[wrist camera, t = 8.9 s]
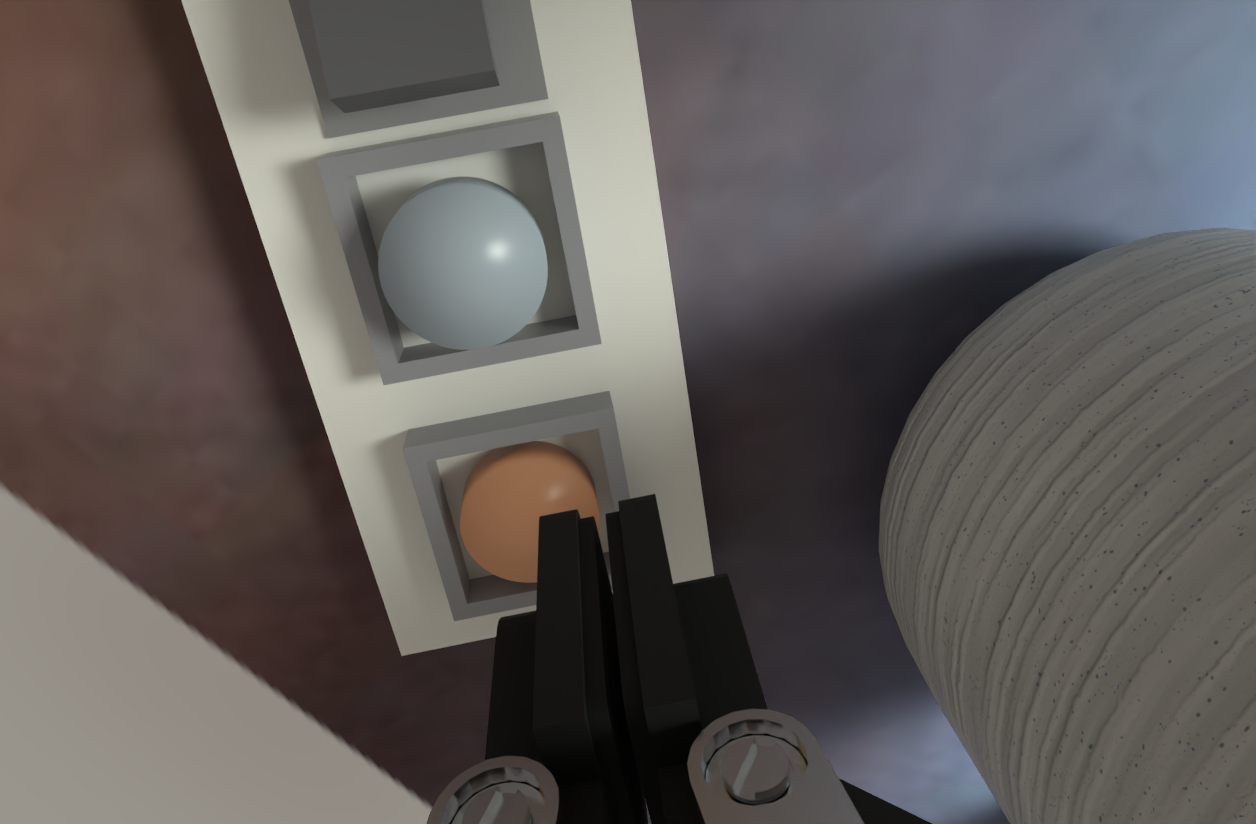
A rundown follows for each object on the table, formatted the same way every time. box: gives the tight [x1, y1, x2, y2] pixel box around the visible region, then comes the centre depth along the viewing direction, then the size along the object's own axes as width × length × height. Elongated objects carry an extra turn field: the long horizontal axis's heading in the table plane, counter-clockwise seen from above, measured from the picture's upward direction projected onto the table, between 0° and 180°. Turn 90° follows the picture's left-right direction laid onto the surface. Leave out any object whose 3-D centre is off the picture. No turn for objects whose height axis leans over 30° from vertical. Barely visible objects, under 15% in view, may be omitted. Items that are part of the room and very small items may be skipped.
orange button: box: [460, 441, 600, 583], centre depth 30 cm, size 5×5×2 cm
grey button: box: [378, 176, 548, 350], centre depth 25 cm, size 5×5×2 cm
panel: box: [181, 0, 714, 656], centre depth 27 cm, size 12×29×5 cm, turn 9°
